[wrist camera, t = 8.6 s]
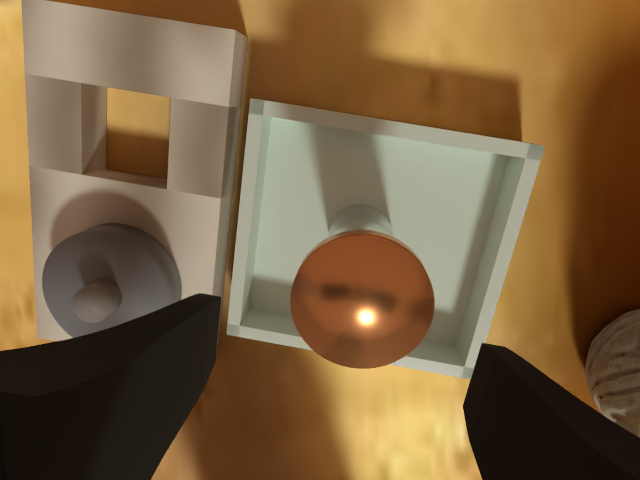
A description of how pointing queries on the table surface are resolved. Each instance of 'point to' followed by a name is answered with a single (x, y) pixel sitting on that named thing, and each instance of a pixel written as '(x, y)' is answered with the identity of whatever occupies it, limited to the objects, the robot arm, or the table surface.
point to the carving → (617, 371)
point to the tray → (394, 201)
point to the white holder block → (120, 187)
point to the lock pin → (362, 293)
